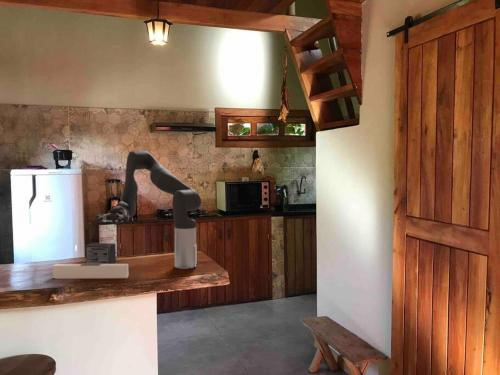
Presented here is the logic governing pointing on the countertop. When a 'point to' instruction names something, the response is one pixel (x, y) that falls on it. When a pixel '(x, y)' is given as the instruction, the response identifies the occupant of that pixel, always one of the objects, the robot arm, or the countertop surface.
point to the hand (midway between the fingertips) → (108, 220)
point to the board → (90, 270)
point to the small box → (101, 253)
